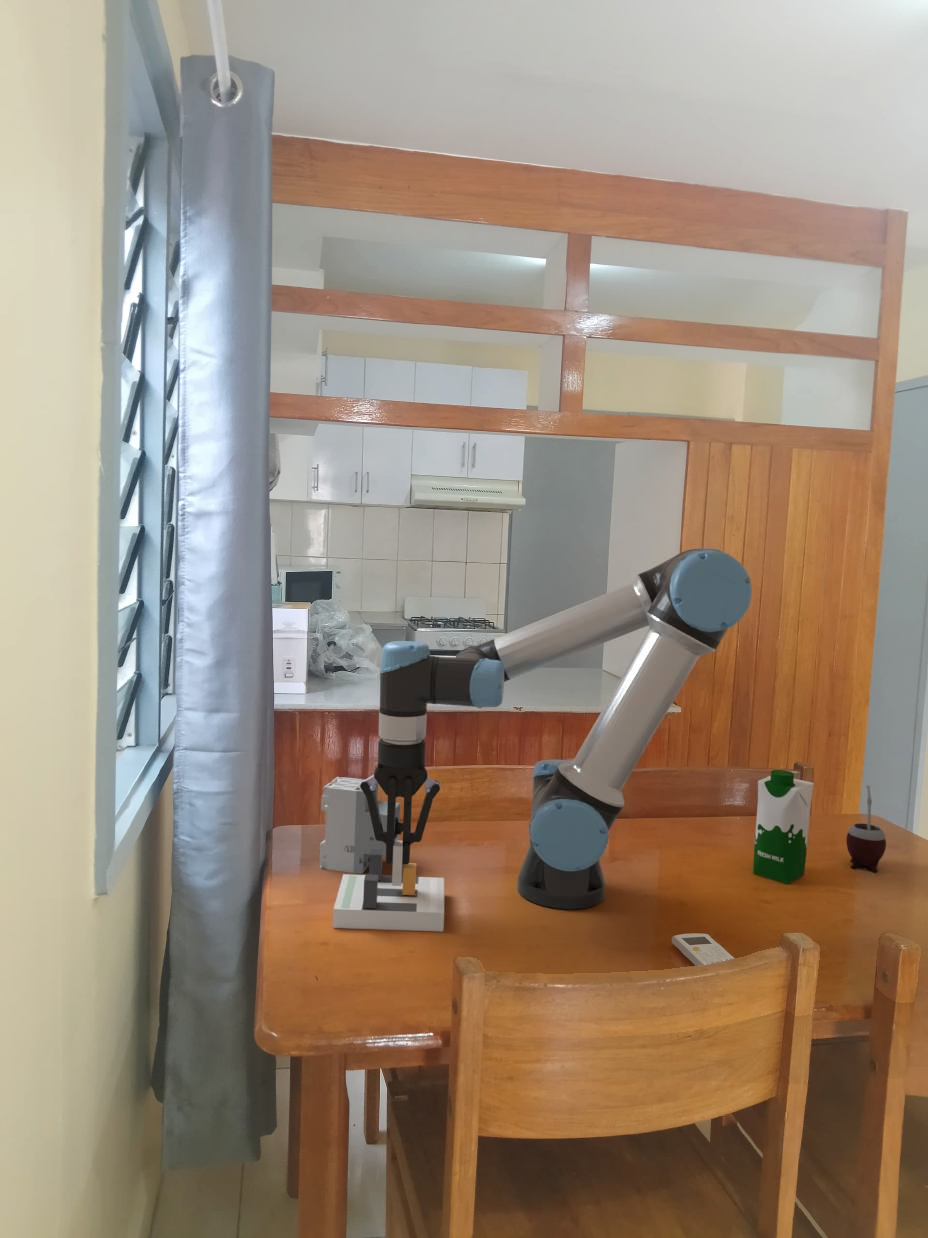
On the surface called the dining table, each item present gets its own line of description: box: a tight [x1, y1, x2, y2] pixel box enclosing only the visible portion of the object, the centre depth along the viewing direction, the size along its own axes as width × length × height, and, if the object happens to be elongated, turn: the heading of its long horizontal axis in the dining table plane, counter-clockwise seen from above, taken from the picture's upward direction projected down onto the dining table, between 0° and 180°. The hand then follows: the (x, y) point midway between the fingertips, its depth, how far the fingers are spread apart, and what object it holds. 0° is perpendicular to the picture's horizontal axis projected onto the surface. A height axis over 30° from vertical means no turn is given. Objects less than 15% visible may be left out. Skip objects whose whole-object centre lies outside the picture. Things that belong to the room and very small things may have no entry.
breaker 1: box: [368, 849, 384, 881], centre depth 149 cm, size 2×2×4 cm
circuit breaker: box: [319, 776, 403, 875], centre depth 162 cm, size 8×14×15 cm, turn 78°
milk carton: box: [752, 769, 815, 885], centre depth 167 cm, size 9×9×20 cm
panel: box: [332, 873, 445, 932], centre depth 144 cm, size 17×14×3 cm
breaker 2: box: [363, 873, 378, 908], centre depth 138 cm, size 2×2×4 cm
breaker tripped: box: [402, 862, 417, 895], centre depth 144 cm, size 2×2×4 cm
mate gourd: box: [846, 784, 887, 874], centre depth 174 cm, size 8×8×15 cm
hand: (397, 882), depth 144 cm, fingers closed
